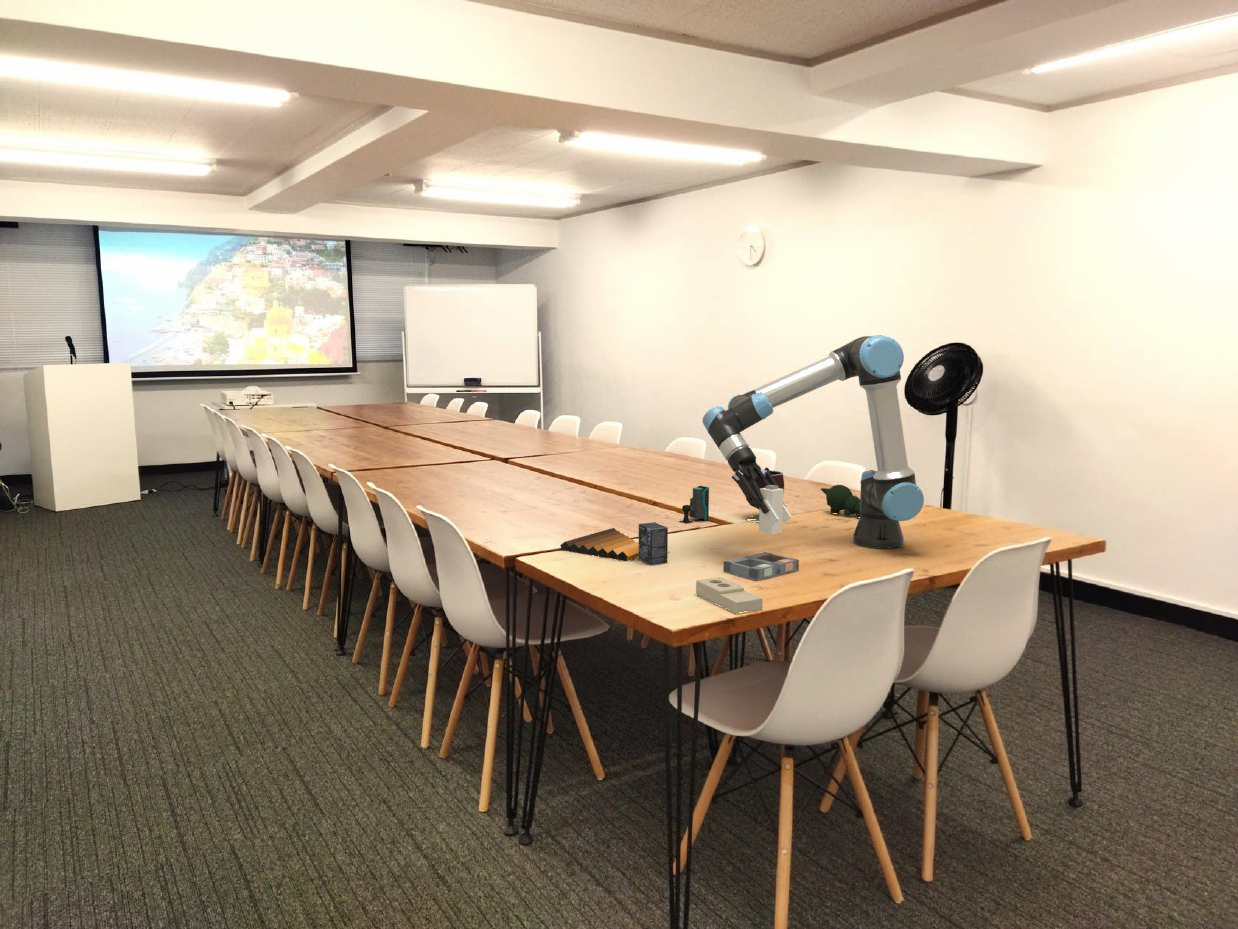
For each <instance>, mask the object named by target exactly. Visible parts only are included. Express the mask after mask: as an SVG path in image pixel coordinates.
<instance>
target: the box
mask: <svg viewBox="0 0 1238 929" xmlns="http://www.w3.org/2000/svg"><path fill="white" fill-rule="evenodd" d="M668 531H669V527H668V526H665V525H662V524H660V523H657V522H655V521H654V522H645V523H638V543H639V557H638V560H640V561H642V562H644V563H647V564H648V565H649V566H657V565H665V564H668V555H669V554H668V552H669V551H668V549H669V547H668V545H669V544H668V543H669V542H668V541H669V540H668V539H669V538H668V537H669V535H668V534H669V532H668Z"/></svg>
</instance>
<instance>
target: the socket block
mask: <svg viewBox="0 0 1238 929" xmlns="http://www.w3.org/2000/svg"><path fill="white" fill-rule="evenodd" d="M799 565H800V560H799V559H795V558H792V557H788V556H783V555H779V554H775V553H770V552H766V551H763V552H761V553H755V554H751V555H746V556H742V557H741V556H740V557H738V558H733V559H729V560H723V573H725V572H727V573H726V574H729V573H730V574H729V575H733V576H736V575H737V577H739V578H744V579H748V580H751V581H755V582H758V581H763V580H767V579H771V578H775V577H778V576H783V575H787V574H792V573H795V572H799V567H800V566H799Z"/></svg>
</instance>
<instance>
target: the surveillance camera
mask: <svg viewBox="0 0 1238 929" xmlns="http://www.w3.org/2000/svg"><path fill="white" fill-rule="evenodd" d="M709 502H710V487H709V486H703V485H698V486H696V487H693V488H692V497H691V498H690V499H689V504H684V505H682V508H681V510H682V512H683V519H682V520H680V521H678V522H679V523H682V524H685V525H686V524H687V525H688V524H692V523H694V521H693V520H692V521H690V518H692V519H697V520H702V521H705V522H709V520H710V519H709V514H710V513H709V512H710V511H709V510H710V509H709V508H710V503H709Z"/></svg>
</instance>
